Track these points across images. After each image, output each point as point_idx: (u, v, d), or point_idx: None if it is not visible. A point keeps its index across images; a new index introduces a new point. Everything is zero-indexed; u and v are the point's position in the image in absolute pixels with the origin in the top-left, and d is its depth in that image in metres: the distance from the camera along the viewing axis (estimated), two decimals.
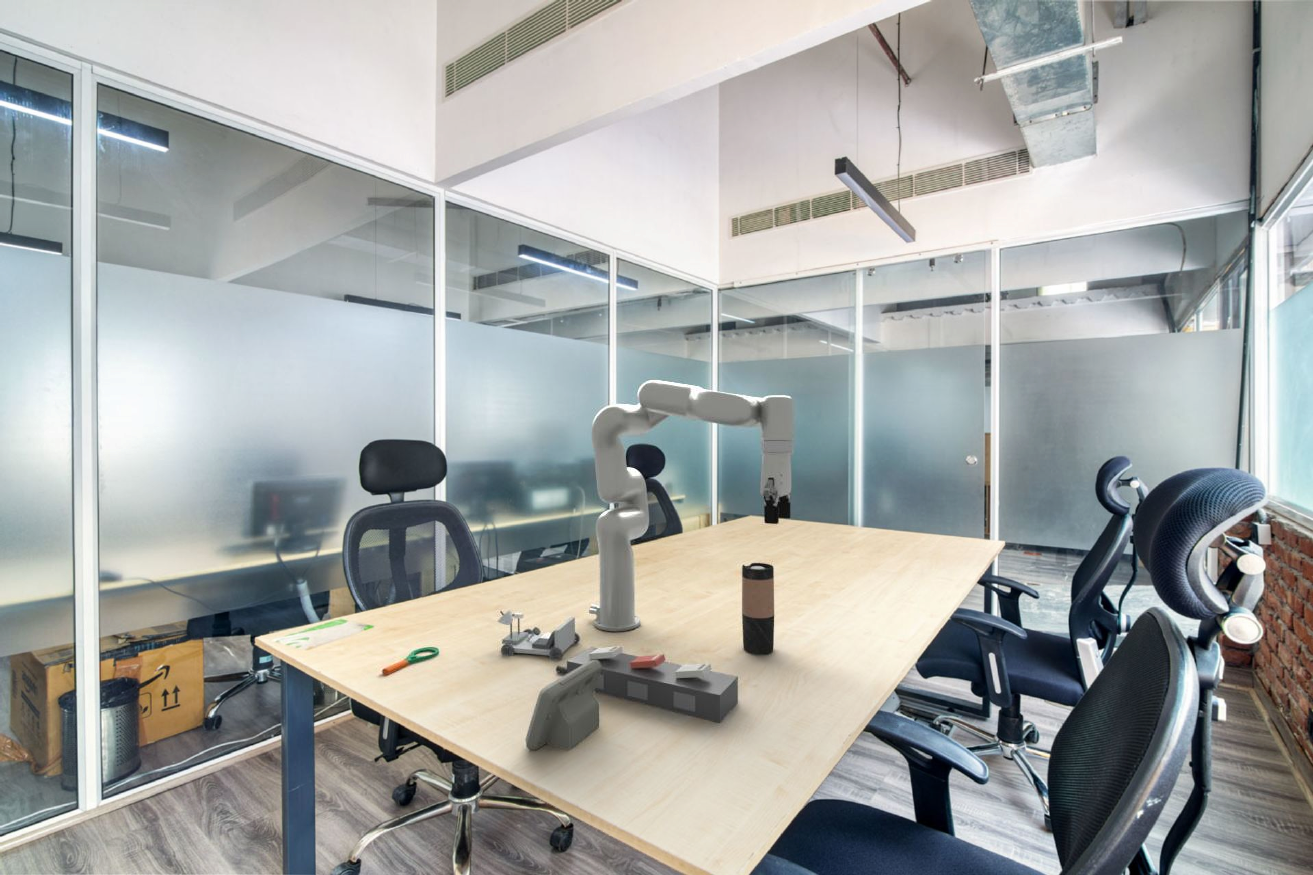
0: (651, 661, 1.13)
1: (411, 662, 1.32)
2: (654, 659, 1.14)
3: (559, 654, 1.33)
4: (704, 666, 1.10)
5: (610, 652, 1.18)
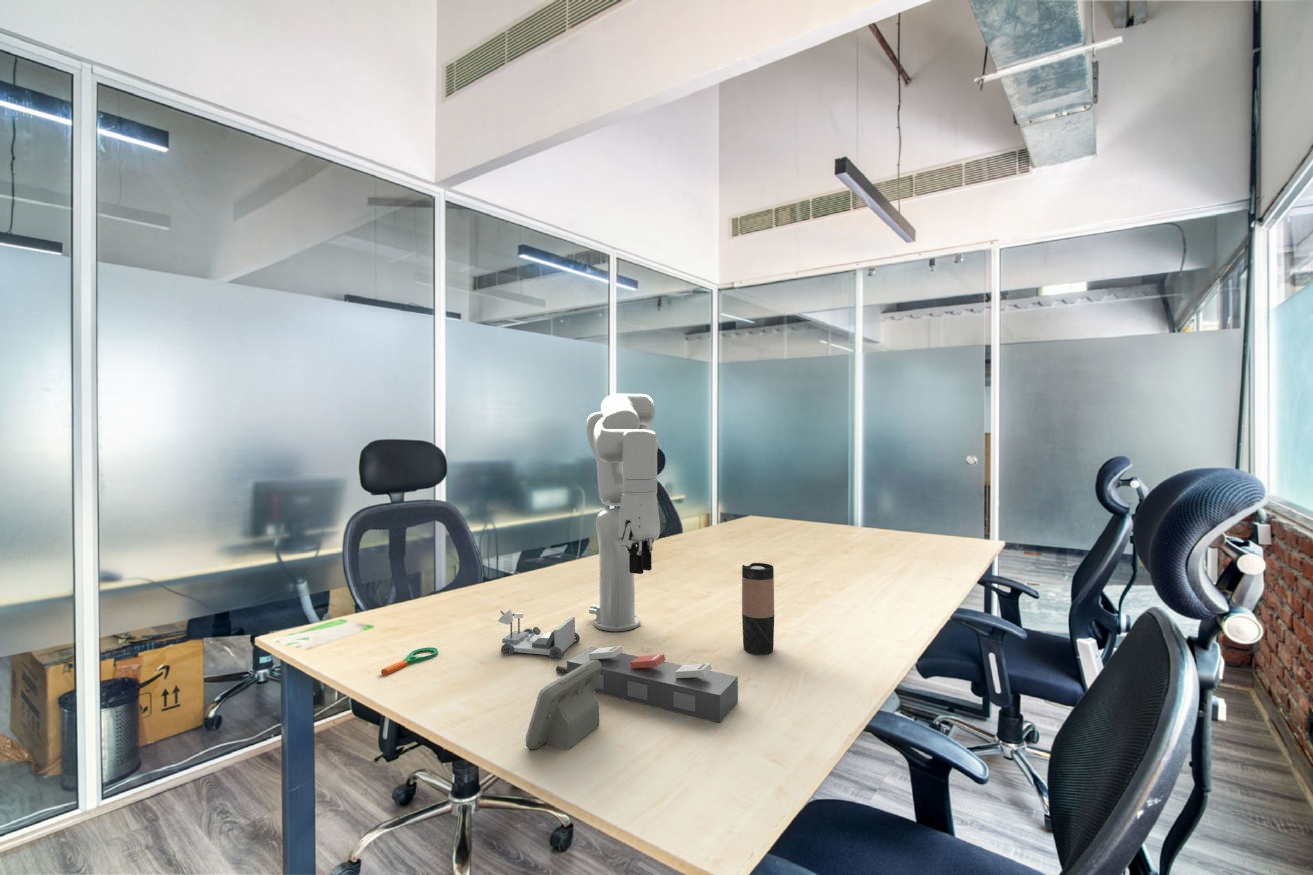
0: (651, 661, 1.13)
1: (410, 662, 1.31)
2: (654, 659, 1.14)
3: (559, 654, 1.34)
4: (704, 666, 1.10)
5: (610, 652, 1.18)
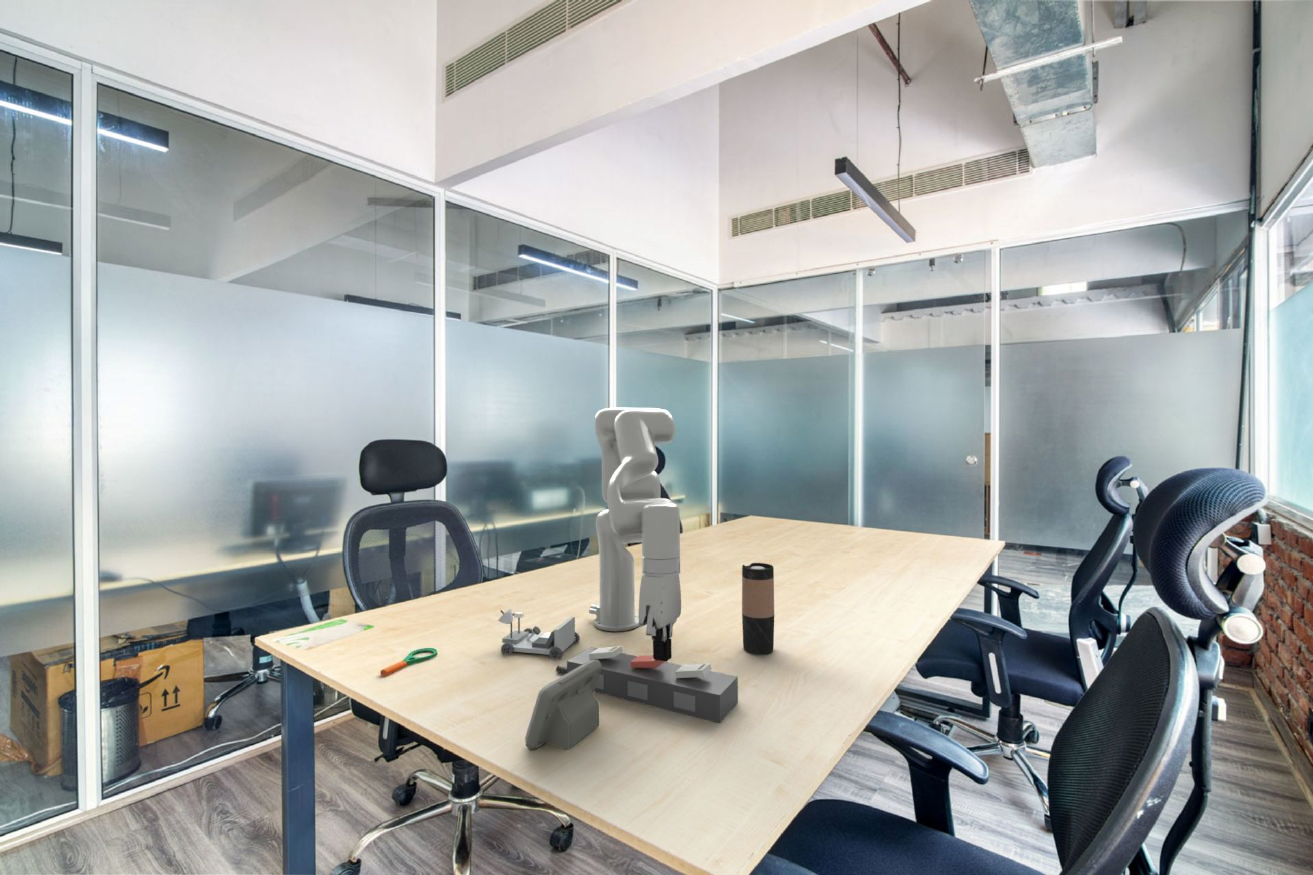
0: (652, 662, 1.13)
1: (409, 663, 1.31)
2: (655, 660, 1.14)
3: (559, 653, 1.34)
4: (704, 666, 1.10)
5: (610, 652, 1.18)
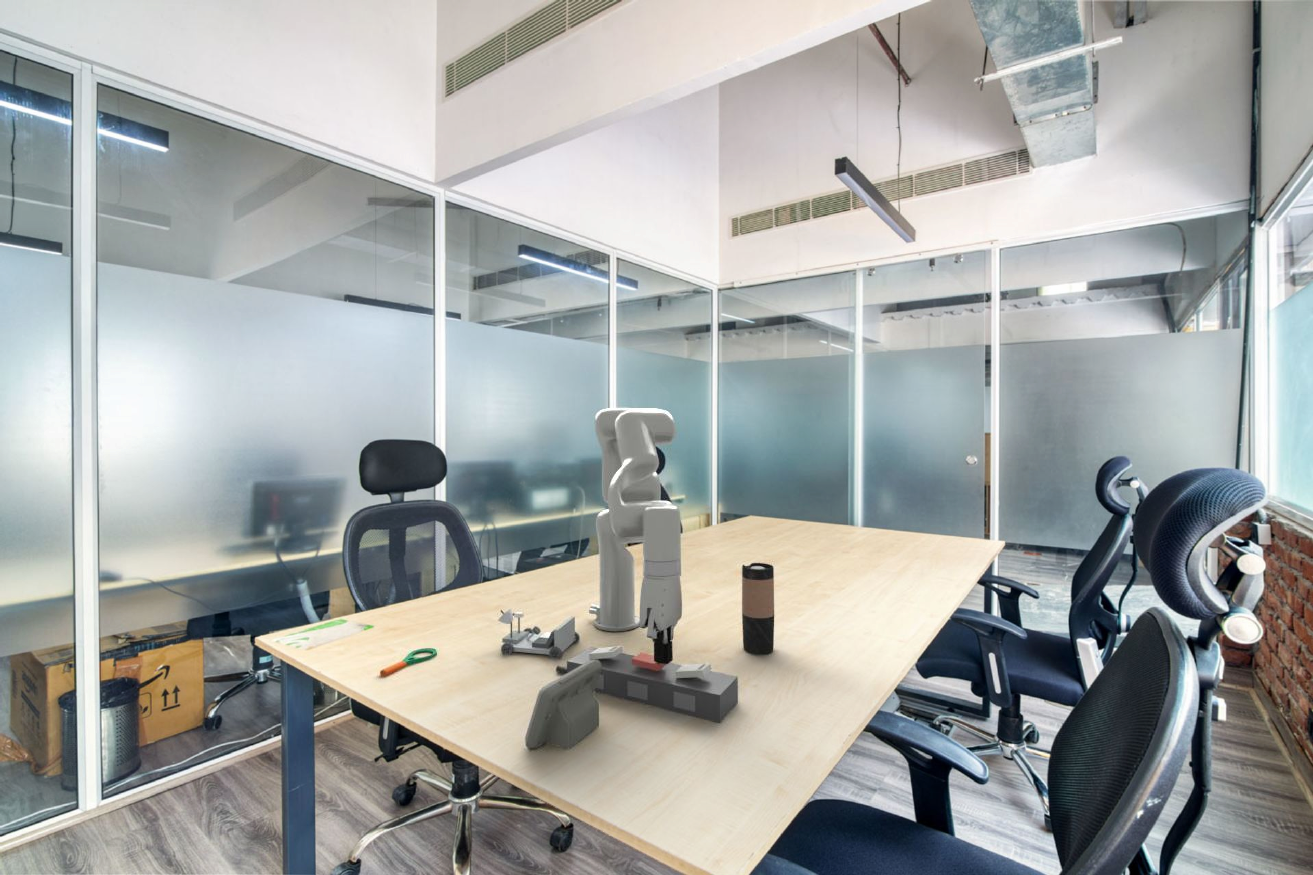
0: (653, 664, 1.13)
1: (409, 663, 1.31)
2: (657, 663, 1.13)
3: (559, 653, 1.34)
4: (704, 666, 1.10)
5: (610, 652, 1.18)
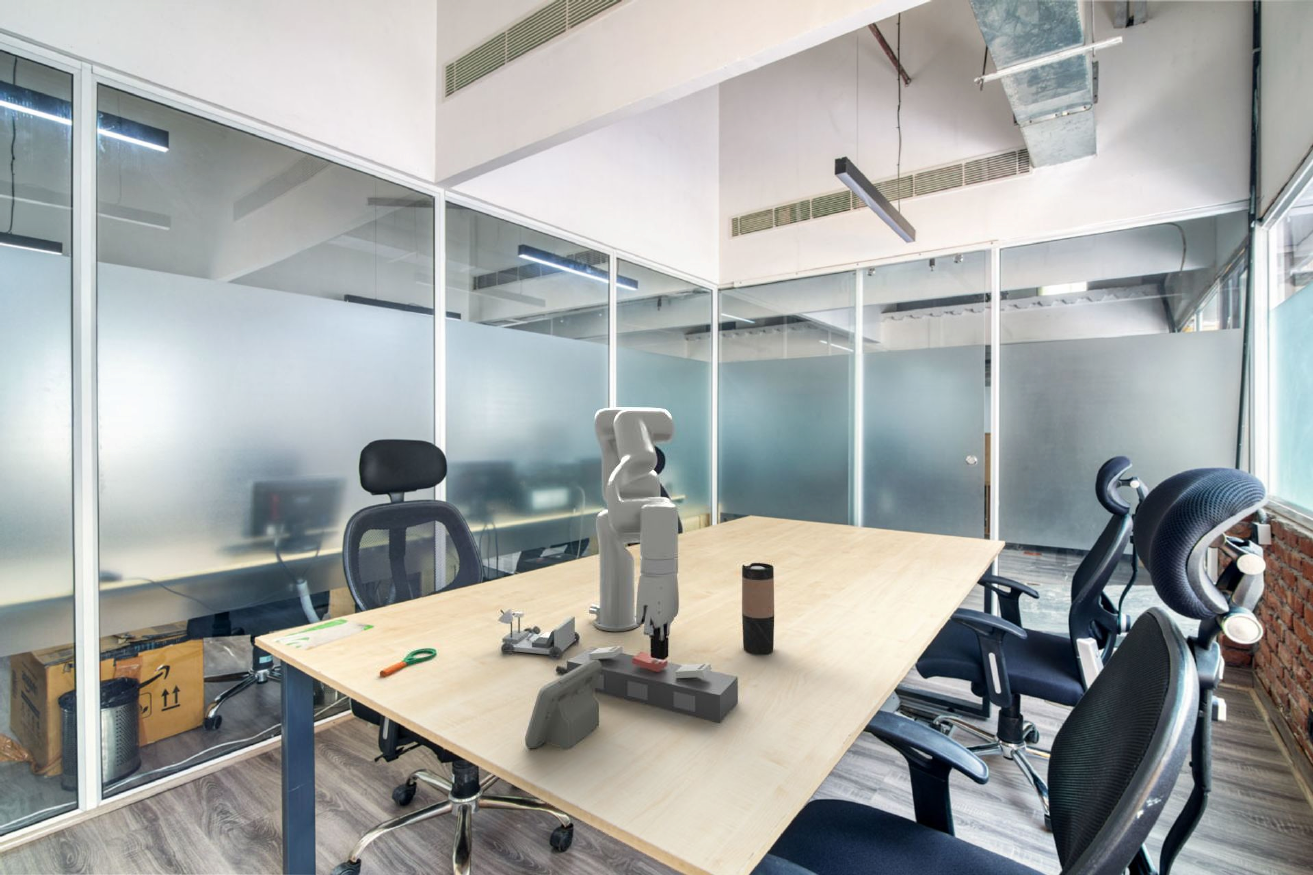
0: (654, 665, 1.13)
1: (409, 664, 1.31)
2: (657, 664, 1.13)
3: (558, 653, 1.34)
4: (704, 666, 1.10)
5: (610, 652, 1.18)
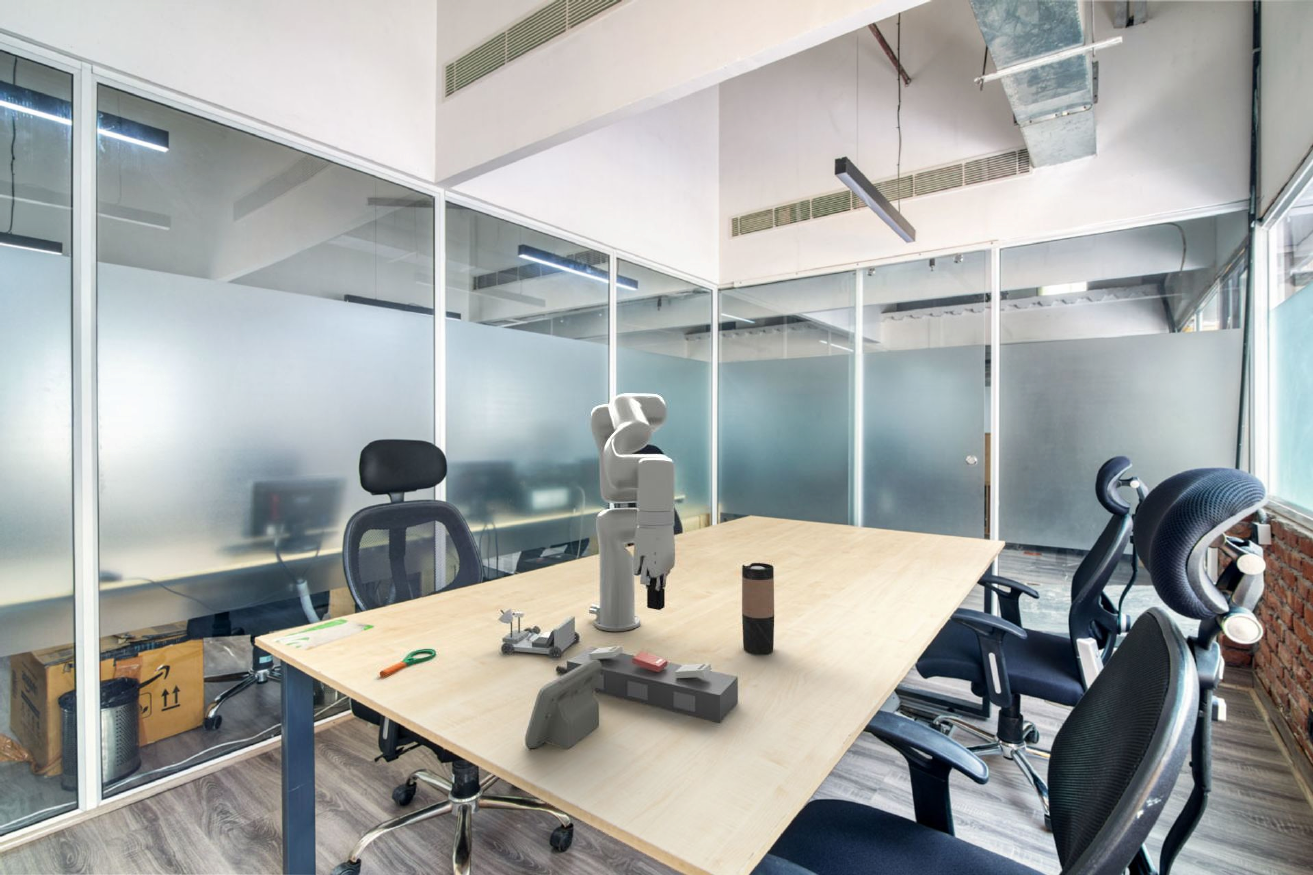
0: (654, 665, 1.13)
1: (408, 664, 1.31)
2: (657, 664, 1.13)
3: (558, 653, 1.34)
4: (704, 666, 1.10)
5: (610, 652, 1.18)
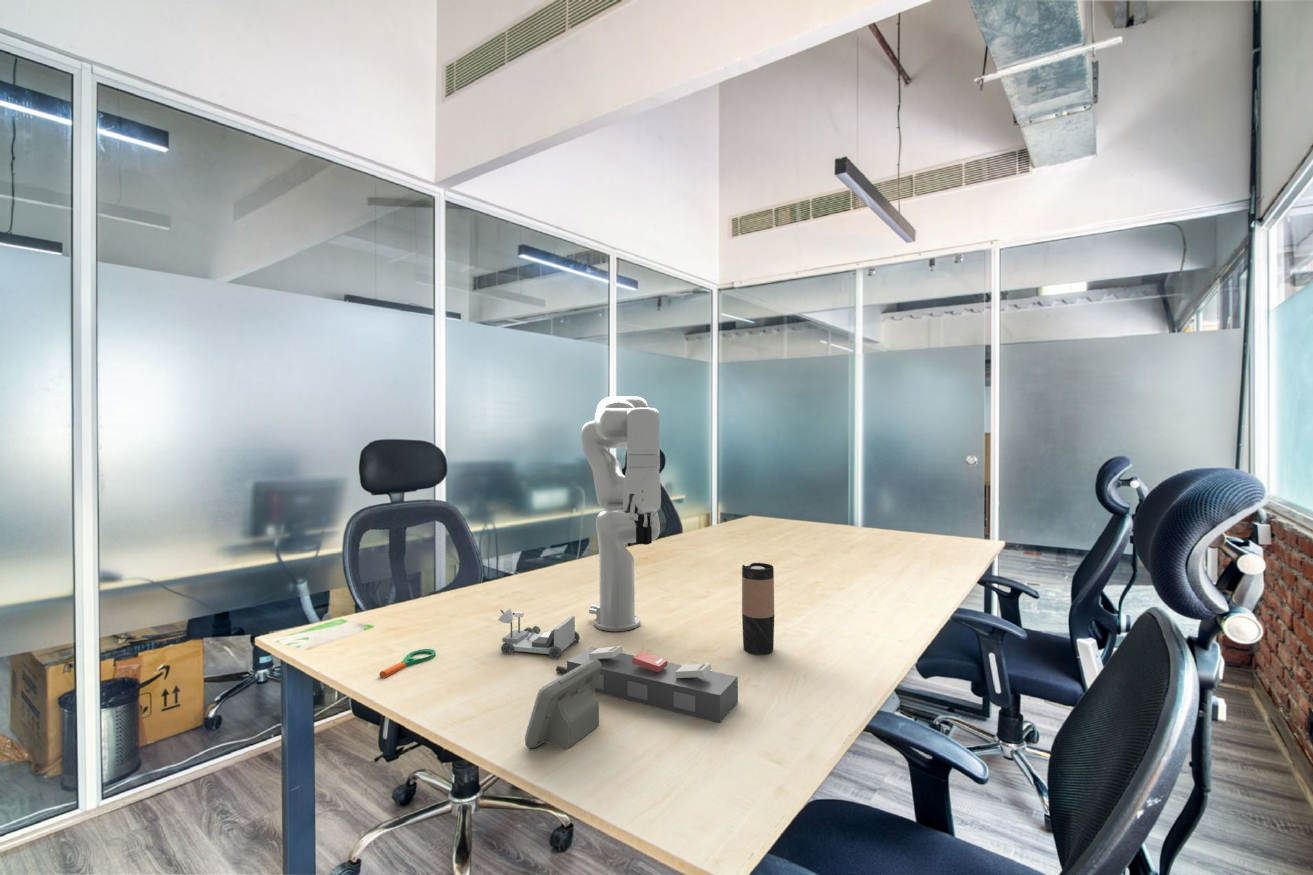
0: (654, 665, 1.13)
1: (408, 664, 1.30)
2: (657, 664, 1.13)
3: (558, 653, 1.34)
4: (704, 666, 1.10)
5: (610, 652, 1.18)
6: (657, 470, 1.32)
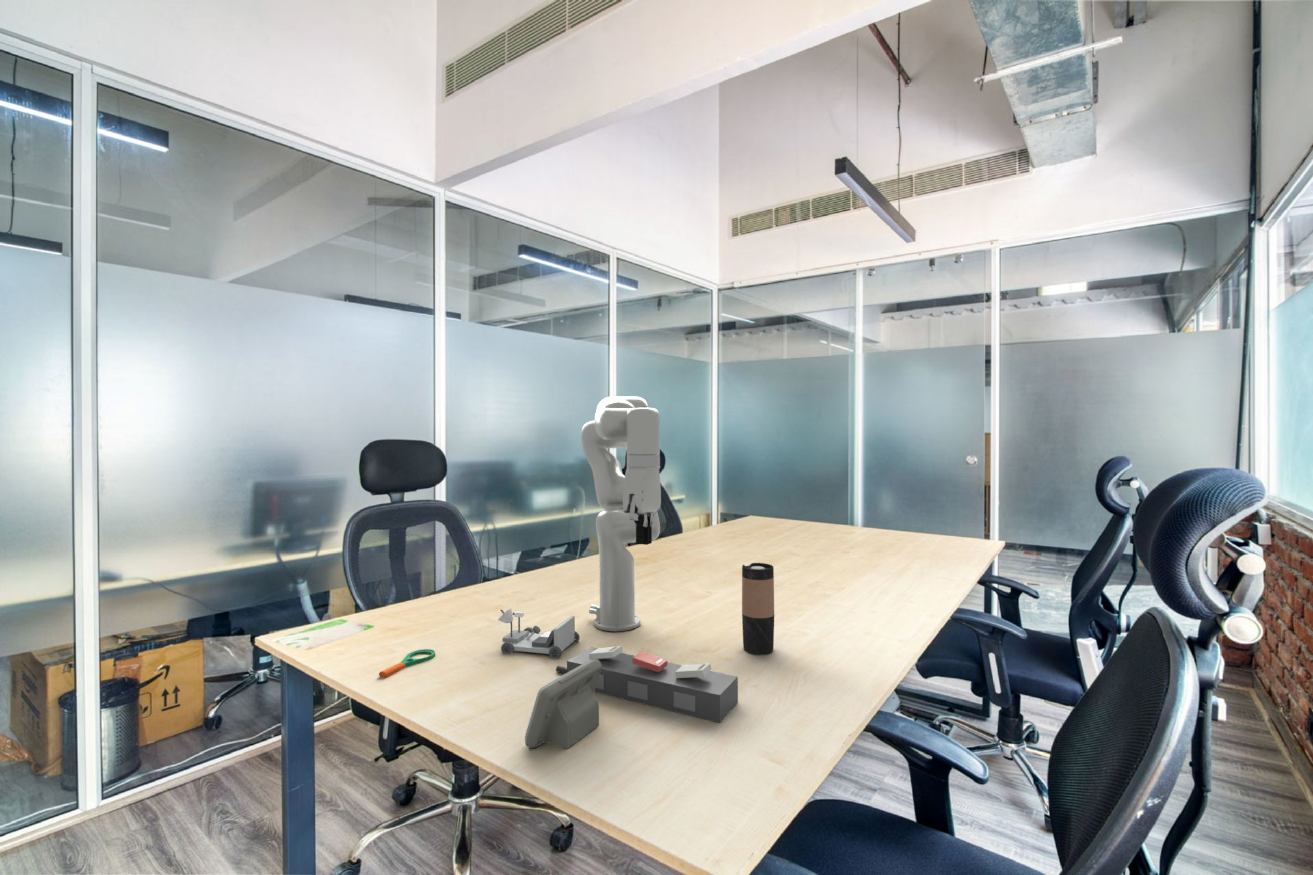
0: (654, 665, 1.13)
1: (408, 665, 1.30)
2: (657, 664, 1.13)
3: (558, 653, 1.34)
4: (704, 666, 1.10)
5: (610, 652, 1.18)
6: (657, 470, 1.32)
